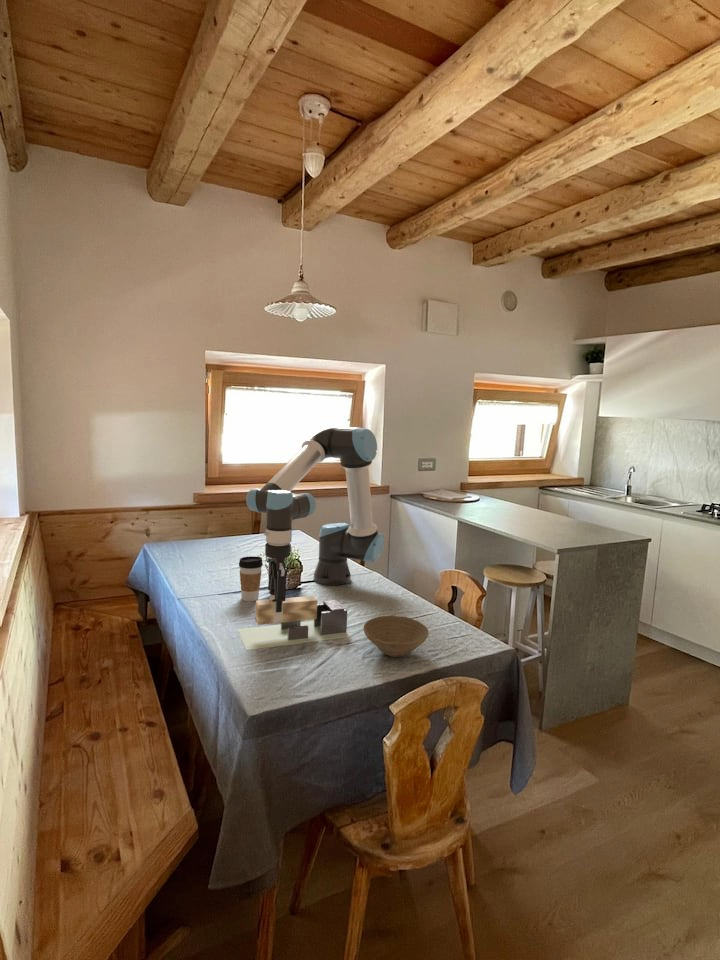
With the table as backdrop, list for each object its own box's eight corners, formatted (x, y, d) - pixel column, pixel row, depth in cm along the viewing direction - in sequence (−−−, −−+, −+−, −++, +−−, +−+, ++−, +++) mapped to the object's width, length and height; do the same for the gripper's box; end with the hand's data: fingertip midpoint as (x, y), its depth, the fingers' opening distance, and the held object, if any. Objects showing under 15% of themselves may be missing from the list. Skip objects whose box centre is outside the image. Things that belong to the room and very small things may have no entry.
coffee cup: (256, 603, 186) (257, 562, 184) (234, 601, 188) (234, 559, 186) (265, 595, 194) (266, 556, 193) (243, 593, 196) (244, 553, 194)
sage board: (334, 619, 176) (334, 618, 176) (351, 637, 162) (351, 636, 162) (237, 630, 164) (237, 629, 163) (246, 651, 150) (246, 650, 150)
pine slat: (312, 614, 166) (313, 595, 166) (316, 619, 163) (317, 600, 162) (255, 619, 159) (255, 600, 159) (257, 624, 156) (258, 605, 155)
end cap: (321, 635, 162) (322, 610, 161) (313, 625, 169) (314, 601, 168) (346, 632, 165) (347, 608, 164) (337, 622, 172) (338, 599, 171)
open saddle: (299, 625, 168) (299, 615, 168) (308, 637, 160) (308, 626, 159) (280, 627, 166) (281, 617, 165) (288, 640, 157) (288, 629, 157)
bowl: (408, 676, 140) (410, 647, 139) (350, 656, 150) (351, 629, 149) (436, 651, 156) (438, 625, 155) (382, 635, 165) (383, 610, 164)
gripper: (259, 536, 163) (257, 609, 166) (272, 550, 148) (269, 631, 150) (283, 535, 166) (280, 607, 169) (298, 549, 151) (295, 628, 153)
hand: (275, 618), depth 160 cm, fingers closed on pine slat, 4 cm apart
